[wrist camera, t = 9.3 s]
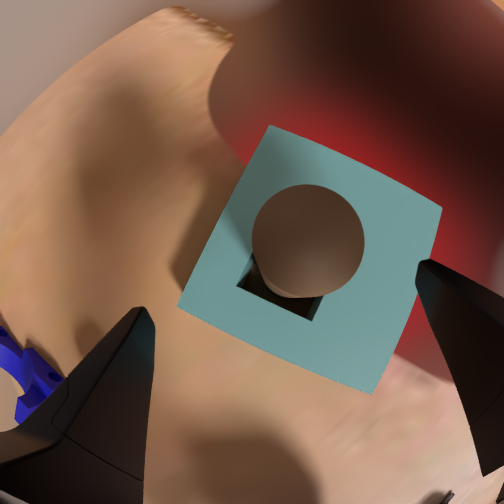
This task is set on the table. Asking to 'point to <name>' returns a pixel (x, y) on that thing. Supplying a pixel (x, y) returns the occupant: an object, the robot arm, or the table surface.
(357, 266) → the tall walnut pin
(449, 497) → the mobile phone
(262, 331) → the teal hole plate
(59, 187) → the table surface
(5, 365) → the cable clip
